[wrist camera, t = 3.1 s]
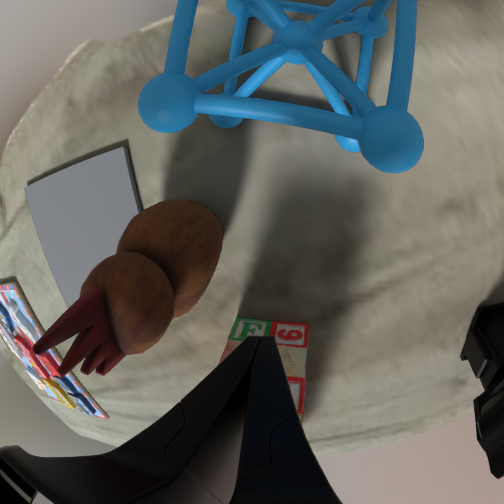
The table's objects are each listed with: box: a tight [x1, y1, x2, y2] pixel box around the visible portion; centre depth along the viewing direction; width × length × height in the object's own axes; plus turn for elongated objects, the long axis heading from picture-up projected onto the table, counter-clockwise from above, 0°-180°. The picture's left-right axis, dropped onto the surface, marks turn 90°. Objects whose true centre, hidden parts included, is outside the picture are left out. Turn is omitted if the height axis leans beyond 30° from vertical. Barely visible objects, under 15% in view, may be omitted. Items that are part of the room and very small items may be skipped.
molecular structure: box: [138, 0, 424, 173], centre depth 10 cm, size 10×10×10 cm
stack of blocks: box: [219, 317, 309, 425], centre depth 22 cm, size 21×6×12 cm, turn 0°
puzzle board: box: [0, 281, 109, 420], centre depth 38 cm, size 30×23×3 cm
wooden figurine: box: [32, 200, 223, 376], centre depth 14 cm, size 7×6×15 cm
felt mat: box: [24, 146, 142, 308], centre depth 23 cm, size 15×15×1 cm
